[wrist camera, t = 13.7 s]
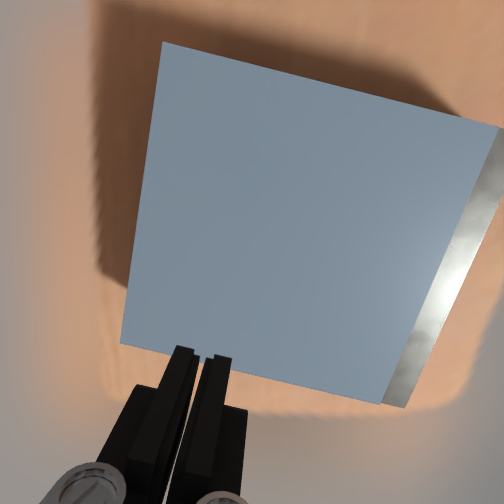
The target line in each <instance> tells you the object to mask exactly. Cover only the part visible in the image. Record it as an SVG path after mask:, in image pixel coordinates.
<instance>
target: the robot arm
mask: <svg viewBox="0 0 504 504" xmlns="http://www.w3.org/2000/svg"><path fill="white" fill-rule="evenodd" d="M194 351H195V349H192V348H188V347H184V346H180V345H176V347H175V349H174V352H173V354H172V356H171V359H170V361H169V363H168V365H167V368H166V370H165V372H164V375H163V377H162V379H161V381H160V384H159V386H158V388H157V389H156V388H152V387H147V386H143V385H139V384H137V385H136V386H135V387H134V389H133V391H132V393H131V395H130V397H129V399H128V401H127V402H126V404H125V406H124V408H123V410H122V412H121V414H120V416H119V418H118V420H117V422H116V424H115V425H114V427H113V429H112V431H111V433H110V435H109V437H108V439H107V441H106V443H105V445H104V447H103V448H102V450H101V453H100V454H99V456H98V458H97V460H96V462H90V463H85V464H82V465H79V466H76V467H74V468H72V469H71V470H69V471H67V472H66V473H65V474H64V475H63V476H62V477H61V478H60V479H59V480H58V481H57V482H56V484H55V485H54V486H53V487H52V489H51V490H50V491H49V492H48V493H47V495H46V496H45V497H44V499H43V500H42V501H41V502H40V504H162V502H163V499H164V495H165V492H166V489H167V485H168V482H169V479H170V475H171V472H172V468H173V465H174V461H175V458H176V455H177V451H178V448H179V445H180V441H181V438H182V434H183V430H184V426H185V422H186V418H187V413H188V409H189V405H190V400H191V396H192V391H193V387H194V383H195V378H196V374H197V370H198V365H199V361H200V356H199V355H195V354H194ZM231 363H232V358H230V357H225V356H221V355H217V354H214V358H213V359H212V358H208V357H206V359H205V363H204V366H203V370H202V373H201V377H200V380H199V383H198V387H197V390H196V394H195V397H194V401H193V404H192V407H191V411H190V414H189V418H188V421H187V425H186V428H185V432H184V435H183V439H182V442H181V446H180V449H179V452H178V456H177V459H176V463H175V467H174V471H173V474H172V479H171V483H170V488H169V492H168V496H167V501H166V504H248V503H247V502H246V501H245V500H244V499H243V498H241V497H240V490H241V480H242V470H243V459H244V449H245V439H246V427H247V418H248V410H244V409H240V408H236V407H232V406H228V405H224V401H225V396H226V390H227V385H228V379H229V374H230V368H231Z"/></svg>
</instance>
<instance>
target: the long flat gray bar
mask: <svg viewBox="0 0 504 504" xmlns="http://www.w3.org/2000/svg"><path fill="white" fill-rule="evenodd" d="M503 194H504V129H503V128H499V130H498V132H497V135H496V137H495V139H494V141H493V144H492V146H491V148H490V151H489V153H488V155H487V158H486V160H485V162H484V165H483V167H482V169H481V172H480V174H479V176H478V179H477V181H476V183H475V186H474V188H473V190H472V192H471V195H470V197H469V199H468V202H467V204H466V206H465V209H464V211H463V213H462V216H461V218H460V220H459V223H458V225H457V227H456V230H455V232H454V234H453V236H452V239H451V241H450V243H449V246H448V248H447V250H446V253H445V255H444V257H443V260H442V262H441V264H440V267H439V269H438V271H437V274H436V276H435V278H434V281H433V283H432V285H431V287H430V290H429V292H428V294H427V297H426V299H425V301H424V304H423V306H422V308H421V311H420V313H419V315H418V318H417V320H416V322H415V325H414V327H413V329H412V331H411V334H410V336H409V338H408V341H407V343H406V345H405V348H404V350H403V352H402V355H401V357H400V359H399V362H398V364H397V366H396V369H395V371H394V373H393V376H392V378H391V380H390V382H389V385H388V387H387V389H386V392H385V394H384V396H383V399H382V401H381V403H384V404H388V405H392V406H396V407H401V408H405V407H406V405H407V403H408V400H409V398H410V396H411V394H412V392H413V390H414V387H415V385H416V383H417V381H418V379H419V377H420V374H421V372H422V370H423V368H424V366H425V363H426V361H427V359H428V357H429V355H430V353H431V350H432V348H433V346H434V344H435V342H436V340H437V337H438V335H439V333H440V331H441V329H442V327H443V324H444V322H445V320H446V318H447V316H448V314H449V311H450V309H451V307H452V305H453V303H454V300H455V298H456V296H457V294H458V292H459V290H460V287H461V285H462V283H463V281H464V279H465V277H466V274H467V272H468V270H469V268H470V266H471V264H472V261H473V259H474V257H475V255H476V253H477V251H478V248H479V246H480V244H481V242H482V240H483V237H484V235H485V233H486V231H487V229H488V227H489V224H490V222H491V220H492V218H493V216H494V214H495V211H496V209H497V207H498V205H499V203H500V201H501V198H502V196H503Z"/></svg>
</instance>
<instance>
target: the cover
mask: <svg viewBox="0 0 504 504" xmlns="http://www.w3.org/2000/svg"><path fill="white" fill-rule="evenodd" d="M499 128H500V127H497V126H493V125H489V124H485V123H481V122H477V121H473V120H469V119H466V118H462V117H458V116H454V115H450V114H446V113H442V112H438V111H434V110H430V109H426V108H422V107H418V106H414V105H411V104H407V103H403V102H399V101H395V100H391V99H387V98H383V97H379V96H375V95H371V94H367V93H363V92H359V91H356V90H352V89H348V88H344V87H340V86H336V85H332V84H328V83H324V82H320V81H316V80H312V79H308V78H305V77H301V76H297V75H293V74H289V73H285V72H281V71H277V70H273V69H269V68H265V67H261V66H257V65H253V64H250V63H246V62H242V61H238V60H234V59H230V58H226V57H222V56H218V55H214V54H210V53H206V52H202V51H199V50H195V49H191V48H187V47H183V46H179V45H175V44H171V43H167V42H163V41H162V48H161V56H160V63H159V70H158V77H157V84H156V91H155V98H154V105H153V112H152V119H151V126H150V133H149V140H148V147H147V154H146V161H145V168H144V175H143V183H142V190H141V197H140V204H139V211H138V218H137V225H136V232H135V239H134V246H133V253H132V260H131V267H130V274H129V281H128V288H127V295H126V302H125V310H124V317H123V324H122V331H121V338H120V343H121V344H125V345H129V346H133V347H138V348H142V349H146V350H150V351H155V352H159V353H163V354H167V355H171V356H172V354H173V352H174V349H175V347H176V345H180V346H184V347H188V348H192V349H195V351H194V354H195V355H199V356H200V361H199V362H201V363H205V359H206V357H208V358H212V359H213V358H214V354H217V355H221V356H225V357H230V358H232V363H231V368H230V370H234V371H239V372H243V373H247V374H251V375H255V376H260V377H264V378H268V379H272V380H277V381H281V382H285V383H289V384H293V385H298V386H302V387H306V388H310V389H314V390H319V391H323V392H327V393H331V394H335V395H340V396H344V397H348V398H352V399H356V400H361V401H365V402H369V403H373V404H378V405H380V403H381V401H382V399H383V396H384V394H385V392H386V389H387V387H388V385H389V382H390V380H391V378H392V376H393V373H394V371H395V369H396V366H397V364H398V362H399V359H400V357H401V355H402V352H403V350H404V348H405V345H406V343H407V341H408V338H409V336H410V334H411V331H412V329H413V327H414V325H415V322H416V320H417V318H418V315H419V313H420V311H421V308H422V306H423V304H424V301H425V299H426V297H427V294H428V292H429V290H430V287H431V285H432V283H433V281H434V278H435V276H436V274H437V271H438V269H439V267H440V264H441V262H442V260H443V257H444V255H445V253H446V250H447V248H448V246H449V243H450V241H451V239H452V236H453V234H454V232H455V230H456V227H457V225H458V223H459V220H460V218H461V216H462V213H463V211H464V209H465V206H466V204H467V202H468V199H469V197H470V195H471V192H472V190H473V188H474V186H475V183H476V181H477V179H478V176H479V174H480V172H481V169H482V167H483V165H484V162H485V160H486V158H487V155H488V153H489V151H490V148H491V146H492V144H493V141H494V139H495V137H496V135H497V132H498V130H499Z"/></svg>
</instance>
